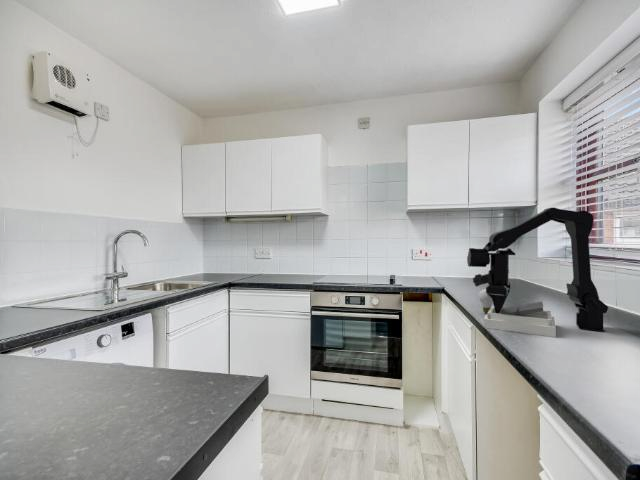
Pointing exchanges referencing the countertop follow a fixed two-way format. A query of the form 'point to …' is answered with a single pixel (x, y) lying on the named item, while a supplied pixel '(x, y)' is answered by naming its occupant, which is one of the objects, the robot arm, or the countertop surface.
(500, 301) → the robot arm
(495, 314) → the breaker box
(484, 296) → the light bulb
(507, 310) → the panel
